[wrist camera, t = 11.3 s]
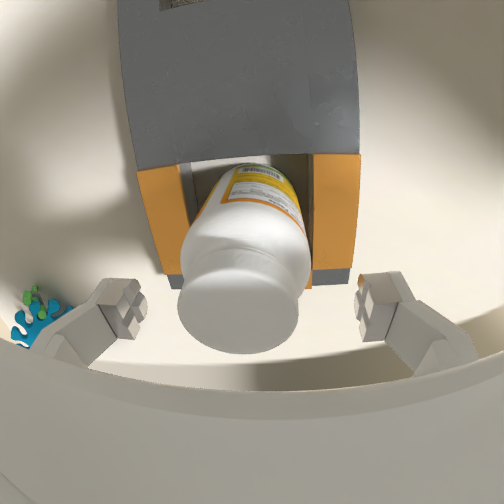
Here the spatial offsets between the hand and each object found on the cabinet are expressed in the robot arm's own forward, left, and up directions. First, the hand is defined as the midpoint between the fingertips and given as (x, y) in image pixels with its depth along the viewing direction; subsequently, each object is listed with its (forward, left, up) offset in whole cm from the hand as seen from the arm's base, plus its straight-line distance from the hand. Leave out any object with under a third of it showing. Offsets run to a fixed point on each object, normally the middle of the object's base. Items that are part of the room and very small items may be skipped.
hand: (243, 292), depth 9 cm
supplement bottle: (0, 0, -9) cm, 9 cm away
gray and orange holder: (0, -8, -8) cm, 12 cm away
